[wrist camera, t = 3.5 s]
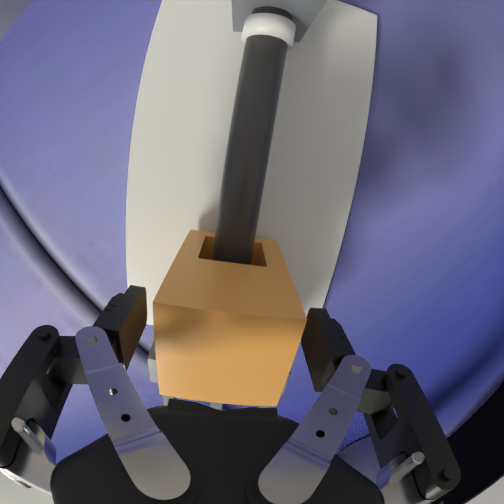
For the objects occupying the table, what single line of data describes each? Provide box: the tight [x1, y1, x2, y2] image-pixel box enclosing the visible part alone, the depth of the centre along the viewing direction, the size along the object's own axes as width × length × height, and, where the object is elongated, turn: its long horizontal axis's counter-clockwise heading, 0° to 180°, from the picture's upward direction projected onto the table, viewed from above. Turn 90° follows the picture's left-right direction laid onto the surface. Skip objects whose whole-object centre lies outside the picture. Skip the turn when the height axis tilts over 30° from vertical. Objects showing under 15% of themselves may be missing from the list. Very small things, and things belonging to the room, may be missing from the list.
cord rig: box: [126, 0, 377, 410], centre depth 12 cm, size 25×14×8 cm, turn 171°
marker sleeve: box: [153, 229, 307, 406], centre depth 13 cm, size 5×5×8 cm
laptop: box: [429, 382, 504, 504], centre depth 27 cm, size 33×38×19 cm
